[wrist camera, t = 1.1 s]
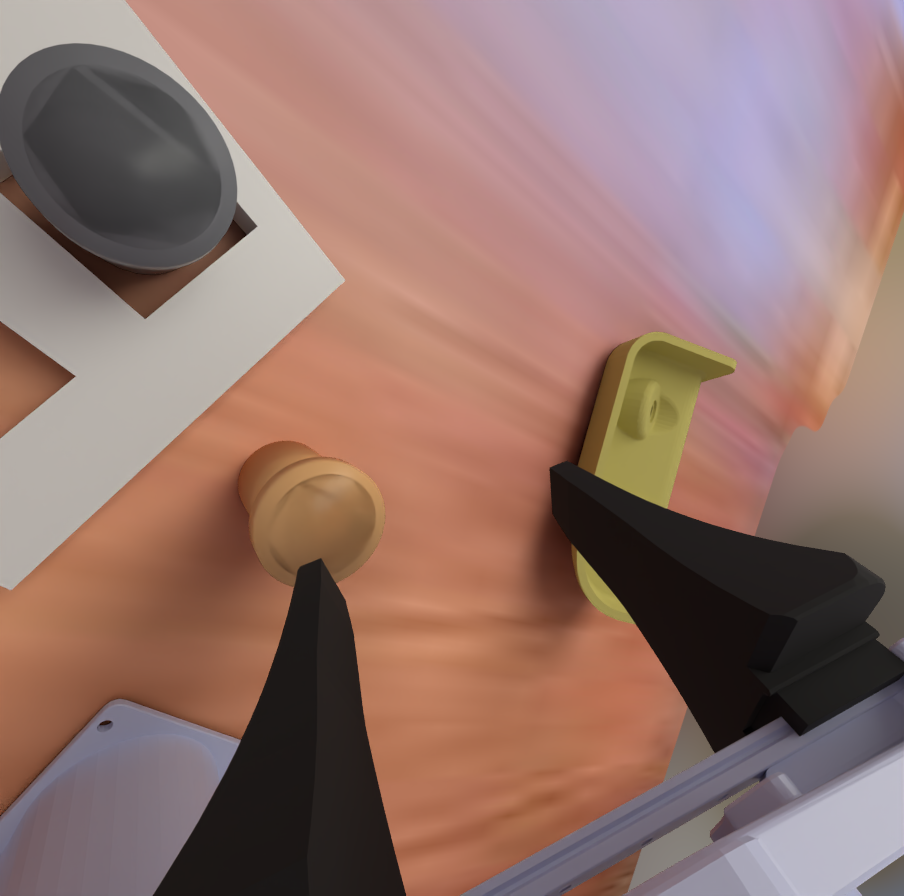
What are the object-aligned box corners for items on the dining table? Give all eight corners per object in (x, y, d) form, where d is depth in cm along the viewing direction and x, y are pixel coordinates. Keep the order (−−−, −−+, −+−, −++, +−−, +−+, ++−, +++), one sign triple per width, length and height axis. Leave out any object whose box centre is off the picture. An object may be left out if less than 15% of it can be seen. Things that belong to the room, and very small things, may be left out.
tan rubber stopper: (285, 548, 21) (324, 610, 17) (202, 490, 19) (220, 544, 14) (352, 474, 23) (407, 513, 18) (282, 411, 20) (325, 435, 15)
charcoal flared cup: (144, 313, 16) (143, 304, 12) (5, 190, 14) (-70, 113, 9) (239, 234, 18) (274, 197, 13) (128, 108, 15) (118, 2, 10)
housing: (24, 564, 16) (10, 590, 14) (-564, 290, 10) (-707, 281, 8) (329, 284, 20) (345, 280, 18) (61, -45, 13) (48, -96, 12)
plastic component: (636, 321, 30) (756, 367, 31) (583, 345, 37) (684, 381, 39) (558, 606, 29) (686, 636, 31) (520, 573, 36) (625, 599, 38)
